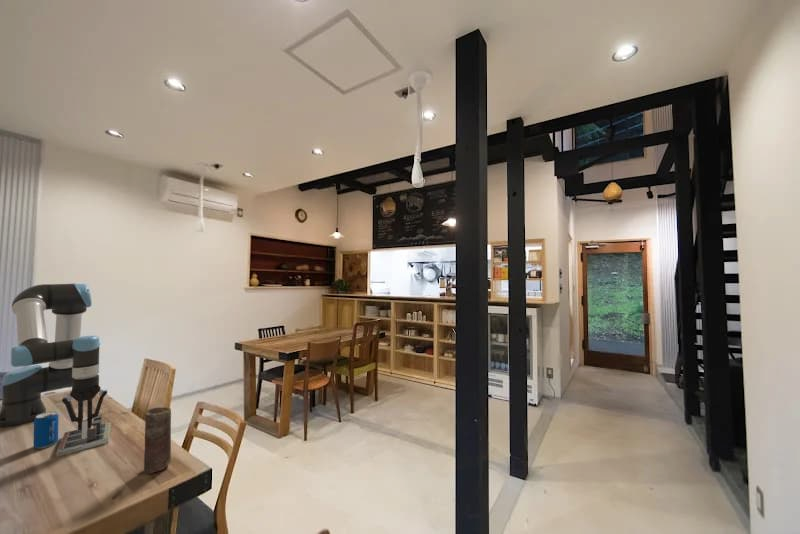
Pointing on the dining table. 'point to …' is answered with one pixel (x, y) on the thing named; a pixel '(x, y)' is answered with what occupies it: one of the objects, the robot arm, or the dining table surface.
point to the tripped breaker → (91, 433)
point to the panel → (82, 440)
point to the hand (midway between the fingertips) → (84, 436)
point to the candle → (157, 439)
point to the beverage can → (46, 429)
